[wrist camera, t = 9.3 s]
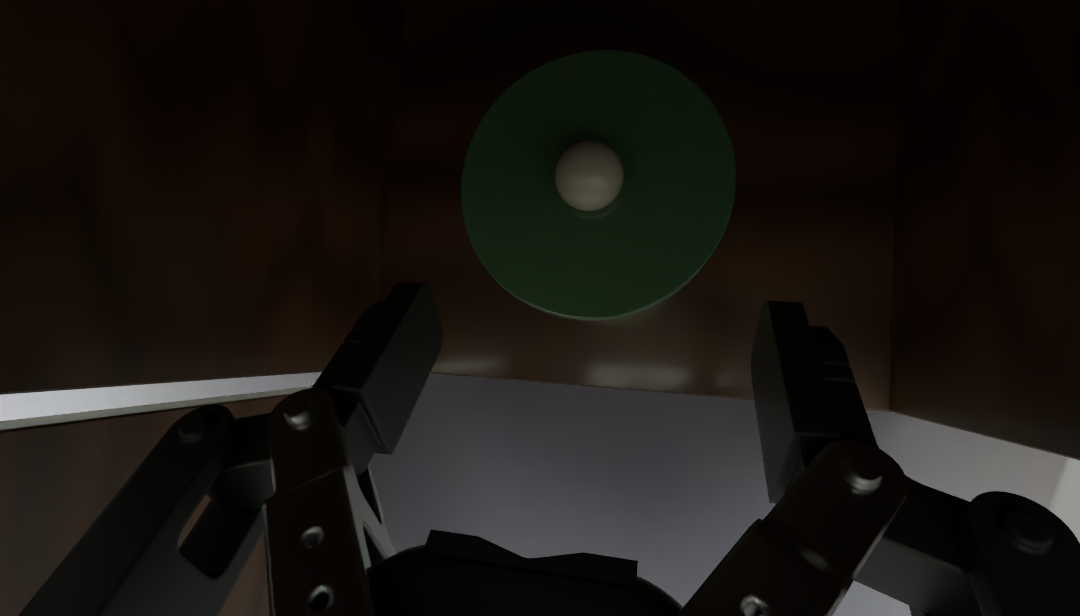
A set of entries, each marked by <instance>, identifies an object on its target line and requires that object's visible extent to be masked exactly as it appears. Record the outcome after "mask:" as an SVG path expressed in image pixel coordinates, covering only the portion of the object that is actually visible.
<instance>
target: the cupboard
mask: <svg viewBox="0 0 1080 616" xmlns="http://www.w3.org/2000/svg"><path fill="white" fill-rule="evenodd" d="M590 50H622V51H629V52H635V53H639V54H642V55H646V56H650V57H652V58H655V59H657V60H659V61H662V62H664V63H666V64H668V65H670V66H672V67H673V68H675V69H677V70H678V71H680V72H682V73H683V74H684V75H686V76H687V77H688V78H689V79H691V80H692V81H693V82H694V83H695V84H697V85H698V86H699V87H700V89H701V90H702V91H703V92H704V93H705V94H706V95H707V96H708V97H709V98H710V100H711V101H712V103H713V104H714V106H715V107H716V109H717V110H718V112H719V113H720V115H721V117H722V119H723V121H724V123H725V125H726V127H727V129H728V133H729V136H730V139H731V142H732V145H733V149H734V155H735V161H736V179H737V184H736V193H735V202H734V206H733V210H732V213H731V217H730V221H729V223H728V226H727V228H726V231H725V233H724V236H723V238H722V240H721V241H720V243H719V245H718V247H717V248H716V250H715V252H714V254H713V255H712V257H711V258H710V259H709V261H708V262H707V263H706V265H705V266H704V267H703V268H702V270H701V271H700V272H699V274H698V275H696V276H695V277H694V278H693V279H692V280H691V281H690V282H689V283H688V284H687V285H686V286H685V287H684V288H683V289H682V290H681V292H680V293H679V294H678V296H677V297H676V298H675V299H674V300H673V301H672V302H671V303H670V304H669V305H668V306H667V307H666V308H665V309H663V310H662V311H661V312H660V313H658V314H656V315H655V316H653V317H651V318H649V319H647V320H645V321H642V322H640V323H636V324H632V325H628V326H621V327H607V326H599V325H595V324H591V323H588V322H585V321H579V320H571V319H565V318H561V317H557V316H554V315H550V314H547V313H545V312H542V311H540V310H538V309H535V308H533V307H530V306H529V305H527V304H525V303H524V302H522V301H520V300H518V299H517V298H515V297H514V296H513V295H511V294H510V293H509V292H507V291H506V290H505V289H504V288H502V287H501V286H500V285H499V284H498V283H497V282H496V281H495V280H494V279H493V278H492V277H491V275H490V274H489V273H488V271H487V270H486V269H485V267H484V266H483V265H482V263H481V262H480V260H479V258H478V257H477V255H476V253H475V251H474V249H473V248H472V245H471V243H470V240H469V238H468V235H467V232H466V229H465V225H464V221H463V217H462V209H461V200H460V194H461V177H462V169H463V164H464V160H465V156H466V153H467V149H468V146H469V144H470V141H471V139H472V137H473V134H474V132H475V130H476V128H477V127H478V125H479V123H480V121H481V119H482V118H483V116H484V115H485V113H486V112H487V111H488V109H489V108H490V107H491V105H492V104H493V103H494V102H495V101H496V99H497V98H498V97H499V96H500V95H501V94H502V93H503V92H504V91H505V90H506V89H507V88H508V87H509V86H511V85H512V84H513V83H514V82H515V81H516V80H518V79H519V78H521V77H522V76H524V75H525V74H527V73H528V72H530V71H531V70H533V69H535V68H537V67H538V66H540V65H542V64H544V63H546V62H548V61H551V60H554V59H556V58H559V57H562V56H565V55H569V54H573V53H577V52H581V51H590ZM398 282H405V283H426V284H428V285H429V286H430V288H431V291H432V294H433V297H434V301H435V304H436V308H437V311H438V314H439V318H440V321H441V325H442V328H443V343H442V348H441V351H440V353H439V355H438V357H437V359H436V361H435V364H434V366H433V368H432V370H431V372H430V373H436V374H448V375H460V376H472V377H484V378H496V379H508V380H520V381H532V382H544V383H556V384H568V385H580V386H592V387H604V388H616V389H627V390H639V391H651V392H663V393H675V394H687V395H699V396H711V397H723V398H735V399H747V400H755V399H754V392H753V385H752V378H751V354H752V348H753V343H754V339H755V335H756V331H757V327H758V322H759V318H760V314H761V310H762V306H763V303H764V302H765V301H786V302H801V303H802V304H803V305H804V308H805V312H806V316H807V319H808V323H809V326H819V327H827V328H828V329H829V330H830V331H831V332H832V333H833V334H834V335H835V336H836V337H837V338H838V339H839V341H840V342H841V343H842V344H843V345H844V348H845V351H846V354H847V357H848V360H849V363H850V365H849V367H850V368H851V369H852V372H853V375H854V378H855V384H857V387H858V390H859V393H860V396H861V398H862V401H863V404H864V407H865V409H867V410H879V411H891V412H894V413H898V414H902V415H906V416H910V417H914V418H918V419H921V420H925V421H929V422H933V423H937V424H941V425H945V426H949V427H953V428H956V429H960V430H964V431H968V432H972V433H976V434H980V435H984V436H988V437H991V438H995V439H999V440H1003V441H1007V442H1011V443H1015V444H1019V445H1022V446H1026V447H1030V448H1034V449H1038V450H1042V451H1046V452H1050V453H1054V454H1057V455H1061V456H1065V457H1069V458H1073V459H1077V460H1080V0H0V395H1V394H16V393H30V392H44V391H58V390H72V389H86V388H100V387H114V386H129V385H143V384H157V383H171V382H185V381H199V380H213V379H228V378H242V377H256V376H270V375H284V374H298V373H312V372H323V370H324V369H325V367H326V366H327V364H328V363H329V361H330V360H331V358H332V357H333V355H334V354H335V353H336V351H337V350H338V348H339V347H340V345H341V344H343V343H344V339H345V338H346V336H347V335H348V333H349V332H350V331H352V327H353V326H354V324H355V323H356V321H357V320H358V318H359V317H360V316H361V314H362V313H363V312H364V311H366V310H367V309H368V308H370V307H371V306H372V305H373V304H375V303H376V302H377V301H385V299H386V298H387V296H388V295H389V293H390V292H391V290H392V288H393V287H394V286H395V284H397V283H398Z"/></svg>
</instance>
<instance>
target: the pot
mask: <svg viewBox="0 0 1080 616" xmlns="http://www.w3.org/2000/svg"><path fill="white" fill-rule="evenodd" d="M736 184H737V179H736V161H735V155H734V149H733V145H732V142H731V139H730V136H729V133H728V129H727V127H726V125H725V123H724V121H723V119H722V117H721V115H720V113H719V112H718V110H717V109H716V107H715V106H714V104H713V103H712V101H711V100H710V98H709V97H708V96H707V95H706V94H705V93H704V92H703V91H702V90H701V89H700V87H699V86H698V85H697V84H695V83H694V82H693V81H692V80H691V79H689V78H688V77H687V76H686V75H684V74H683V73H682V72H680V71H678V70H677V69H675V68H673V67H672V66H670V65H668V64H666V63H664V62H662V61H659V60H657V59H655V58H652V57H650V56H646V55H642V54H639V53H635V52H629V51H622V50H590V51H581V52H577V53H573V54H569V55H565V56H562V57H559V58H556V59H554V60H551V61H548V62H546V63H544V64H542V65H540V66H538V67H537V68H535V69H533V70H531V71H530V72H528V73H527V74H525V75H524V76H522V77H521V78H519V79H518V80H516V81H515V82H514V83H513V84H512V85H511V86H509V87H508V88H507V89H506V90H505V91H504V92H503V93H502V94H501V95H500V96H499V97H498V98H497V99H496V101H495V102H494V103H493V104H492V105H491V107H490V108H489V109H488V111H487V112H486V113H485V115H484V116H483V118H482V119H481V121H480V123H479V125H478V127H477V128H476V130H475V132H474V134H473V137H472V139H471V141H470V144H469V146H468V149H467V153H466V156H465V160H464V164H463V169H462V177H461V194H460V200H461V209H462V217H463V221H464V225H465V229H466V232H467V235H468V238H469V240H470V243H471V245H472V248H473V249H474V251H475V253H476V255H477V257H478V258H479V260H480V262H481V263H482V265H483V266H484V267H485V269H486V270H487V271H488V273H489V274H490V275H491V277H492V278H493V279H494V280H495V281H496V282H497V283H498V284H499V285H500V286H501V287H502V288H504V289H505V290H506V291H507V292H509V293H510V294H511V295H513V296H514V297H515V298H517V299H518V300H520V301H522V302H524V303H525V304H527V305H529V306H530V307H533V308H535V309H538V310H540V311H542V312H545V313H547V314H550V315H554V316H557V317H561V318H565V319H571V320H579V321H585V322H588V323H591V324H595V325H599V326H607V327H621V326H628V325H632V324H636V323H640V322H642V321H645V320H647V319H649V318H651V317H653V316H655V315H656V314H658V313H660V312H661V311H662V310H663V309H665V308H666V307H667V306H668V305H669V304H670V303H671V302H672V301H673V300H674V299H675V298H676V297H677V296H678V294H679V293H680V292H681V290H682V289H683V288H684V287H685V286H686V285H687V284H688V283H689V282H690V281H691V280H692V279H693V278H694V277H695V276H696V275H698V274H699V272H700V271H701V270H702V268H703V267H704V266H705V265H706V263H707V262H708V261H709V259H710V258H711V257H712V255H713V254H714V252H715V250H716V248H717V247H718V245H719V243H720V241H721V240H722V238H723V236H724V233H725V231H726V228H727V226H728V223H729V221H730V217H731V213H732V210H733V206H734V202H735V193H736Z"/></svg>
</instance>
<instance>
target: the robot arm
mask: <svg viewBox="0 0 1080 616" xmlns="http://www.w3.org/2000/svg"><path fill="white" fill-rule="evenodd" d="M442 343H443V328H442V325H441V321H440V318H439V314H438V311H437V308H436V304H435V301H434V297H433V294H432V291H431V288H430V286H429V285H428V284H426V283H405V282H398V283H397V284H395V286H394V287H393V288H392V290H391V292H390V293H389V295H388V296H387V298H386V299H385V301H377V302H376V303H375V304H373V305H372V306H371V307H370V308H368V309H367V310H366V311H364V312H363V313H362V314H361V316H360V317H359V318H358V320H357V321H356V323H355V324H354V326H353V327H352V331H350V332H349V333H348V335H347V336H346V338H345V339H344V343H343V344H341V345H340V347H339V348H338V350H337V351H336V353H335V354H334V355H333V357H332V358H331V360H330V361H329V363H328V364H327V366H326V367H325V369H324V370H323V372H322V373H321V375H320V376H319V378H318V379H317V381H316V382H315V384H314V385H313V387H312V388H308V389H303V390H300V391H297V392H295V393H292V394H291V395H289V396H287V397H286V398H284V399H283V400H281V401H280V402H279V403H278V404H277V405H276V406H275V407H274V409H273V410H272V412H271V413H266V414H260V415H255V416H249V417H244V418H238V419H236V418H235V417H234V415H233V414H232V413H231V411H230V410H229V409H228V408H227V407H225V406H223V405H217V404H215V405H206V406H203V407H199V408H197V409H194V410H192V411H190V412H188V413H187V414H185V415H184V416H182V417H181V418H180V419H178V420H177V421H176V422H175V423H174V424H173V425H172V426H171V427H170V428H169V429H168V431H167V432H166V433H165V434H164V435H163V437H162V438H161V439H160V440H159V442H158V443H157V444H156V445H155V447H154V448H153V449H152V450H151V452H150V453H149V454H148V455H147V457H146V458H145V459H144V460H143V462H142V463H141V464H140V465H139V466H138V468H137V469H136V470H135V471H134V473H133V474H132V475H131V476H130V478H129V479H128V480H127V481H126V483H125V484H124V485H123V486H122V488H121V489H120V490H119V491H118V493H117V494H116V495H115V496H114V497H113V499H112V500H111V501H110V502H109V504H108V505H107V506H106V507H105V509H104V510H103V511H102V512H101V514H100V515H99V516H98V517H97V519H96V520H95V521H94V522H93V523H92V525H91V526H90V527H89V528H88V530H87V531H86V532H85V533H84V535H83V536H82V537H81V538H80V540H79V541H78V542H77V543H76V545H75V546H74V547H73V548H72V550H71V551H70V552H69V553H68V554H67V556H66V557H65V558H64V559H63V561H62V562H61V563H60V564H59V566H58V567H57V568H56V569H55V571H54V572H53V573H52V574H51V576H50V577H49V578H48V579H47V581H46V582H45V583H44V584H43V585H42V587H41V588H40V589H39V590H38V592H37V593H36V594H35V595H34V597H33V598H32V599H31V600H30V602H29V603H28V604H27V605H26V607H25V608H24V609H23V610H22V612H21V613H20V614H19V615H18V616H218V615H219V613H220V611H221V609H222V608H223V606H224V604H225V602H226V600H227V598H228V597H229V595H230V593H231V591H232V589H233V587H234V586H235V584H236V582H237V580H238V578H239V576H240V574H241V573H242V571H243V569H244V567H245V565H246V563H247V562H248V560H249V558H250V556H251V554H252V552H253V551H254V549H255V547H256V545H257V543H258V541H259V540H260V538H261V536H262V534H263V532H264V544H265V558H266V572H267V586H268V600H269V614H270V616H832V615H833V613H834V612H835V610H836V608H837V607H838V605H839V604H840V602H841V601H842V599H843V597H844V596H845V594H846V593H847V591H848V589H849V588H850V586H851V584H852V582H853V580H855V581H857V582H859V583H861V584H863V585H866V586H868V587H870V588H872V589H874V590H877V591H879V592H881V593H883V594H886V595H888V596H890V597H892V598H894V599H897V600H899V601H901V602H903V603H906V604H908V605H909V607H910V611H911V615H912V616H1080V543H1079V542H1078V540H1077V538H1076V537H1075V535H1074V534H1073V532H1072V531H1071V530H1070V529H1069V527H1068V526H1067V525H1066V524H1065V523H1064V522H1063V521H1062V520H1061V519H1059V518H1058V517H1057V516H1056V515H1055V514H1053V513H1052V512H1051V511H1049V510H1048V509H1046V508H1045V507H1043V506H1041V505H1040V504H1038V503H1036V502H1034V501H1032V500H1030V499H1027V498H1025V497H1022V496H1019V495H1016V494H1012V493H1008V492H1000V491H992V492H986V493H982V494H980V495H978V496H976V497H975V498H974V499H973V500H972V501H971V502H969V501H966V500H964V499H961V498H958V497H955V496H952V495H950V494H947V493H944V492H941V491H938V490H936V489H933V488H930V487H927V486H925V485H923V484H920V483H918V482H916V481H914V480H912V479H910V478H909V477H907V476H906V475H905V474H904V472H903V470H902V469H901V468H900V466H899V465H898V464H897V463H896V462H895V461H894V459H893V458H891V457H890V456H889V455H888V454H886V453H885V452H883V451H882V450H880V449H879V447H878V445H877V443H876V440H875V437H874V434H873V431H872V428H871V425H870V422H869V419H868V416H867V413H866V410H865V407H864V404H863V401H862V398H861V396H860V393H859V390H858V387H857V384H855V378H854V375H853V372H852V369H851V368H850V367H849V365H850V363H849V360H848V357H847V354H846V351H845V348H844V345H843V344H842V343H841V342H840V341H839V339H838V338H837V337H836V336H835V335H834V334H833V333H832V332H831V331H830V330H829V329H828V328H827V327H819V326H809V323H808V319H807V316H806V312H805V308H804V305H803V304H802V303H801V302H786V301H765V302H764V303H763V306H762V310H761V314H760V318H759V322H758V327H757V331H756V335H755V339H754V343H753V348H752V354H751V378H752V385H753V392H754V399H755V406H756V413H757V420H758V427H759V434H760V440H761V447H762V454H763V461H764V468H765V475H766V482H767V489H768V496H769V503H775V504H776V505H775V506H774V508H773V509H772V510H771V511H770V513H769V514H768V515H767V516H766V517H765V518H764V519H757V520H756V521H755V522H754V523H753V524H752V525H751V526H750V527H749V528H748V529H747V531H746V532H745V533H744V534H743V535H742V537H741V538H740V539H739V540H738V541H737V543H736V544H735V545H734V546H733V548H732V549H731V550H730V551H729V552H728V554H727V555H726V556H725V557H724V558H723V560H722V561H721V562H720V563H719V565H718V566H717V567H716V568H715V569H714V571H713V572H712V573H711V574H710V576H709V577H708V578H707V579H706V580H705V582H704V583H703V584H702V585H701V586H700V588H699V589H698V590H697V591H696V593H695V594H694V595H693V596H692V597H691V599H690V600H689V601H688V602H687V603H686V605H685V606H684V607H682V606H681V605H680V604H679V603H678V602H677V601H676V600H675V599H674V598H672V597H671V596H670V595H668V594H667V593H666V592H665V591H663V590H662V589H661V588H659V587H657V586H656V585H654V584H652V583H651V582H649V581H647V580H645V579H643V578H640V577H638V576H637V564H638V561H636V560H629V559H623V558H616V557H609V556H603V555H596V554H590V553H575V554H566V555H558V556H549V557H540V558H524V557H522V556H519V555H517V554H515V553H513V552H511V551H509V550H506V549H504V548H502V547H500V546H498V545H496V544H493V543H491V542H489V541H487V540H485V539H483V538H480V537H478V536H471V535H465V534H458V533H451V532H445V531H438V530H432V529H431V531H430V533H429V536H428V539H427V542H426V544H425V545H420V546H416V547H412V548H409V549H406V550H403V551H401V552H398V553H396V551H395V548H394V546H393V544H392V541H391V539H390V536H389V533H388V530H387V526H386V522H385V518H384V515H383V511H382V507H381V504H380V500H379V496H378V493H377V489H376V485H375V481H374V478H373V474H372V470H371V468H370V466H369V462H370V460H371V458H372V456H373V454H374V453H380V454H388V455H392V453H393V451H394V449H395V447H396V445H397V443H398V440H399V438H400V436H401V434H402V432H403V430H404V428H405V426H406V423H407V421H408V419H409V417H410V415H411V413H412V411H413V408H414V406H415V404H416V402H417V400H418V398H419V396H420V393H421V391H422V389H423V387H424V385H425V383H426V381H427V379H428V376H429V374H430V372H431V370H432V368H433V366H434V364H435V361H436V359H437V357H438V355H439V353H440V351H441V348H442ZM206 494H207V495H208V496H209V498H210V499H211V500H210V502H209V503H208V505H207V506H206V508H205V509H204V511H203V512H202V514H201V515H200V517H199V518H198V520H197V522H196V523H195V525H194V526H193V528H192V529H191V531H190V532H189V534H188V535H187V537H186V538H185V540H184V541H183V543H182V545H181V546H180V548H179V549H178V540H179V537H180V534H181V532H182V530H183V528H184V526H185V525H186V523H187V522H188V520H189V519H190V517H191V516H192V514H193V513H194V511H195V510H196V508H197V507H198V505H199V504H200V502H201V501H202V499H203V498H204V496H205V495H206Z"/></svg>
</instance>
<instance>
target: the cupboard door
mask: <svg viewBox="0 0 1080 616" xmlns="http://www.w3.org/2000/svg"><path fill="white" fill-rule="evenodd" d="M312 387H313V386H312ZM312 387H303V388H294V389H285V390H276V391H267V392H258V393H249V394H240V395H232V396H223V397H214V398H205V399H196V400H187V401H178V402H169V403H160V404H151V405H143V406H134V407H125V408H116V409H107V410H98V411H89V412H80V413H71V414H62V415H54V416H45V417H36V418H27V419H18V420H9V421H0V616H18V615H19V614H20V613H21V612H22V610H23V609H24V608H25V607H26V605H27V604H28V603H29V602H30V600H31V599H32V598H33V597H34V595H35V594H36V593H37V592H38V590H39V589H40V588H41V587H42V585H43V584H44V583H45V582H46V581H47V579H48V578H49V577H50V576H51V574H52V573H53V572H54V571H55V569H56V568H57V567H58V566H59V564H60V563H61V562H62V561H63V559H64V558H65V557H66V556H67V554H68V553H69V552H70V551H71V550H72V548H73V547H74V546H75V545H76V543H77V542H78V541H79V540H80V538H81V537H82V536H83V535H84V533H85V532H86V531H87V530H88V528H89V527H90V526H91V525H92V523H93V522H94V521H95V520H96V519H97V517H98V516H99V515H100V514H101V512H102V511H103V510H104V509H105V507H106V506H107V505H108V504H109V502H110V501H111V500H112V499H113V497H114V496H115V495H116V494H117V493H118V491H119V490H120V489H121V488H122V486H123V485H124V484H125V483H126V481H127V480H128V479H129V478H130V476H131V475H132V474H133V473H134V471H135V470H136V469H137V468H138V466H139V465H140V464H141V463H142V462H143V460H144V459H145V458H146V457H147V455H148V454H149V453H150V452H151V450H152V449H153V448H154V447H155V445H156V444H157V443H158V442H159V440H160V439H161V438H162V437H163V435H164V434H165V433H166V432H167V431H168V429H169V428H170V427H171V426H172V425H173V424H174V423H175V422H176V421H177V420H178V419H180V418H181V417H182V416H184V415H185V414H187V413H188V412H190V411H192V410H194V409H197V408H199V407H203V406H206V405H215V404H217V405H223V406H225V407H227V408H228V409H229V410H230V411H231V413H232V414H233V415H234V417H235V418H236V419H238V418H244V417H249V416H255V415H260V414H266V413H271V412H272V410H273V409H274V407H275V406H276V405H277V404H278V403H279V402H280V401H281V400H283V399H284V398H286V397H287V396H289V395H291V394H292V393H295V392H297V391H300V390H303V389H308V388H312ZM210 500H211V499H210V498H209V496H208V495H207V494H206V495H205V496H204V498H203V499H202V501H201V502H200V504H199V505H198V507H197V508H196V510H195V511H194V513H193V514H192V516H191V517H190V519H189V520H188V522H187V523H186V525H185V526H184V528H183V530H182V532H181V534H180V537H179V540H178V549H179V548H180V546H181V545H182V543H183V541H184V540H185V538H186V537H187V535H188V534H189V532H190V531H191V529H192V528H193V526H194V525H195V523H196V522H197V520H198V518H199V517H200V515H201V514H202V512H203V511H204V509H205V508H206V506H207V505H208V503H209V502H210ZM218 616H270V614H269V600H268V586H267V572H266V558H265V544H264V532H263V534H262V536H261V538H260V540H259V541H258V543H257V545H256V547H255V549H254V551H253V552H252V554H251V556H250V558H249V560H248V562H247V563H246V565H245V567H244V569H243V571H242V573H241V574H240V576H239V578H238V580H237V582H236V584H235V586H234V587H233V589H232V591H231V593H230V595H229V597H228V598H227V600H226V602H225V604H224V606H223V608H222V609H221V611H220V613H219V615H218Z"/></svg>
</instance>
